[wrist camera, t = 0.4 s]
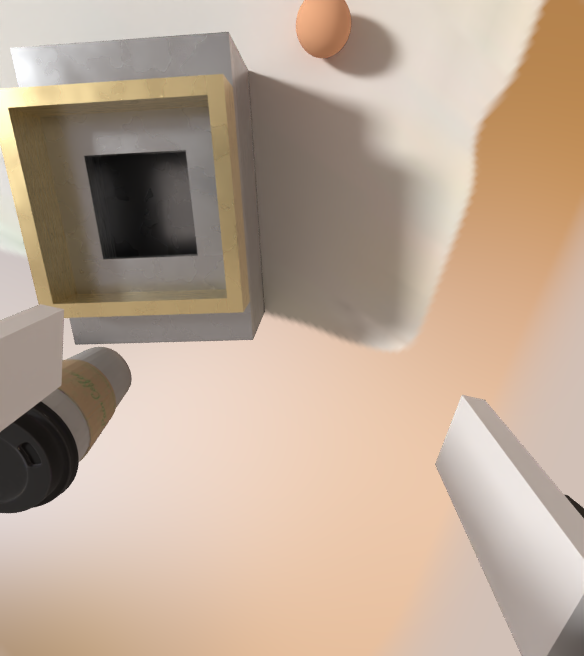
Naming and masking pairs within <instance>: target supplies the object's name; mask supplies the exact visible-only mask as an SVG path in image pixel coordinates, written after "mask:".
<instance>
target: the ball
mask: <svg viewBox="0 0 584 656" xmlns="http://www.w3.org/2000/svg"><path fill="white" fill-rule="evenodd" d="M350 30H351V15H350V11H349V8H348V6H347V4H346V2H345V0H305V1H304V2H303V3H302V5H301V7H300V9H299V12H298V15H297V20H296V31H297V36H298V39H299V42H300V44H301V45H302V47H303V48H304V49H305V51H306V52H308V53H309V54H310V55H312V56H314V57H317V58H328V57H331V56H333V55H335V54H336V53H338V52H339V51H340V50H341V49H342V48H343V46H344V45H345V44H346V42H347V40H348V37H349V34H350Z"/></svg>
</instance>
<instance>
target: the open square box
mask: <svg viewBox="0 0 584 656" xmlns="http://www.w3.org/2000/svg"><path fill="white" fill-rule="evenodd" d="M10 50H11V54H12V59H13V63H14V68H15V72H16V77H17V82H18V86H19V88H5V89H0V145H1V149H2V153H3V157H4V162H5V166H6V170H7V174H8V178H9V182H10V187H11V191H12V195H13V199H14V203H15V207H16V211H17V216H18V220H19V224H20V228H21V232H22V236H23V241H24V245H25V249H26V253H27V257H28V261H29V265H30V270H31V274H32V278H33V282H34V286H35V290H36V294H37V299H38V303H39V304H42V305H47V306H51V307H56V308H61V309H64V318H70V323H71V327H72V332H73V336H74V340H75V344H111V343H149V342H186V341H223V340H253V338H254V336H255V334H256V331H257V329H258V326H259V324H260V322H261V319H262V317H263V315H264V312H265V308H264V294H263V279H262V264H261V250H260V235H259V221H258V206H257V192H256V177H255V162H254V148H253V133H252V119H251V104H250V90H249V75H248V69H247V67H246V65H245V63H244V61H243V59H242V57H241V55H240V53H239V51H238V49H237V47H236V46H235V44H234V42H233V40H232V38H231V36H230V34H229V32H221V33H207V34H194V35H180V36H166V37H153V38H139V39H126V40H112V41H99V42H85V43H71V44H58V45H44V46H31V47H17V48H10Z"/></svg>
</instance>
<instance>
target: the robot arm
mask: <svg viewBox="0 0 584 656" xmlns="http://www.w3.org/2000/svg"><path fill="white" fill-rule="evenodd" d="M63 324H64V309H61V308H56V307H51V306H47V305H42V304H39V305H37V306H35V307H32V308H30V309H28V310H25V311H22V312H20V313H17V314H15V315H12V316H10V317H7V318H5V319H2V320H0V432H1V431H2V430H3V429H5V428H6V427H7V426H9V425H10V424H11V423H13V422H14V421H15V420H17V419H18V418H19V417H21V416H22V415H23V414H25V413H26V412H27V411H28V410H30V409H31V408H32V407H34V406H35V405H36V404H38V403H39V402H40V401H42V400H43V399H44V398H46V397H47V396H48V395H49V394H51V393H52V392H53V391H55V390H56V389H57V388H59V387H60V386H61V384H62V354H63V326H64V325H63ZM435 465H436V467H437V470H438V472H439V474H440V476H441V478H442V481H443V483H444V485H445V487H446V489H447V492H448V493H449V496H450V498H451V500H452V503H453V505H454V507H455V509H456V512H457V514H458V516H459V518H460V520H461V523H462V525H463V527H464V529H465V532H466V534H467V536H468V538H469V540H470V542H471V545H472V547H473V549H474V551H475V553H476V556H477V558H478V560H479V562H480V565H481V567H482V569H483V571H484V574H485V576H486V578H487V580H488V582H489V584H490V587H491V589H492V591H493V593H494V596H495V598H496V600H497V602H498V605H499V607H500V609H501V611H502V613H503V616H504V618H505V620H506V622H507V624H508V627H509V629H510V631H511V633H512V636H513V638H514V640H515V642H516V644H517V647H518V649H519V651H520V653H521V655H522V656H584V508H583V507H581V506H580V505H579V504H578V503H577V502H575V501H574V500H573V499H571V498H570V497H569V496H568V495H564V494H563V493H562V492H561V491H560V489H559V488H558V487H557V486H556V485H555V483H553V481H552V480H551V479H550V477H549V476H548V475H547V474H546V473H545V471H544V470H543V469H542V468H541V467H540V466H539V464H538V463H537V462H536V461H535V459H534V458H533V457H532V456H531V455H530V453H529V452H528V451H527V450H526V449H525V448H524V446H523V445H522V444H521V443H520V441H519V440H518V439H517V438H516V437H515V435H514V434H513V433H512V432H511V431H510V430H509V428H508V427H507V426H506V425H505V424H504V422H503V421H502V420H501V419H500V417H499V416H498V415H497V414H496V413H495V412H494V410H493V409H492V408H491V407H490V406H489V404H488V403H487V402H486V401H485V400H483V399H478V398H473V397H469V396H465V395H462V396H461V399H460V401H459V404H458V407H457V409H456V412H455V414H454V417H453V420H452V422H451V425H450V427H449V430H448V433H447V435H446V438H445V440H444V443H443V446H442V448H441V451H440V453H439V456H438V458H437V461H436V464H435Z"/></svg>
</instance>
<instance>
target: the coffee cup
mask: <svg viewBox="0 0 584 656" xmlns="http://www.w3.org/2000/svg"><path fill="white" fill-rule="evenodd" d="M130 385H131V372H130V369H129V367H128V365H127V363H126V362H125V360H124V359H123V358H122V357H121V356H120V355H119V354H118V353H117V352H115V351H113V350H112V349H109V348H105V347H95V348H91V349H88V350H86V351H83V352H81V353H79V354H77V355H75V356H73V357H71V358H68V359H66V360H62V384H61V386H60V387H59V388H57V389H56V390H55V391H53V392H52V393H51V394H49V395H48V396H47V397H46V398H44V399H43V400H42V401H40V402H39V403H38V404H36V405H35V406H34V407H32V408H31V409H30V410H28V411H27V412H26V413H25V414H23V415H22V416H21V417H19V418H18V419H17V420H15V421H14V422H13V423H11V424H10V425H9V426H7V427H6V428H5V429H3V430H2V431H1V432H0V513H17V512H22V511H25V510H28V509H30V508H33V507H37V506H41V505H44V504H46V503H48V502H50V501H52V500H53V499H55V498H56V497H57V496H59V495H60V494H61V493H63V492H64V491H65V490H66V489H67V488H68V487H69V486H70V484H71V483H72V482H73V480H74V478H75V476H76V473H77V470H78V463H79V461H81V460H82V459H83V458H84V456H85V455H86V454H87V453H88V451H89V450H90V449H91V447H92V445H93V444H94V443H95V441H96V440H97V438H98V437H99V435H100V434H101V432H102V431H103V429H104V428H105V426H106V425H107V423H108V422H109V420H110V419H111V417H112V416H113V414H114V412H115V409H116V407H117V406H118V404H119V403H120V401H121V400H122V398H123V397H124V395H125V394H126V392H127V391H128V389H129V387H130Z"/></svg>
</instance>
